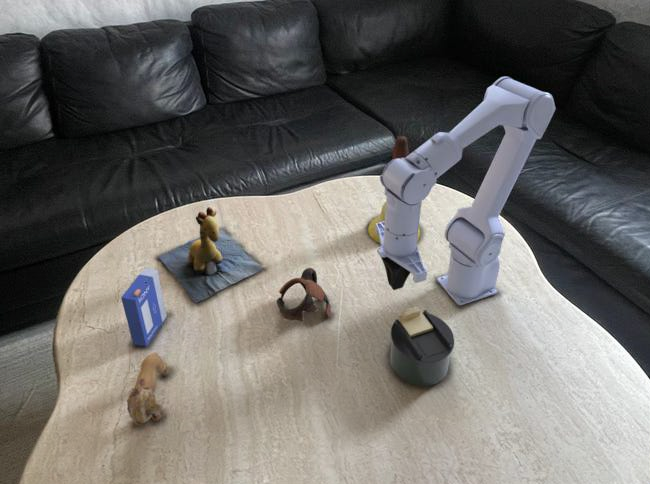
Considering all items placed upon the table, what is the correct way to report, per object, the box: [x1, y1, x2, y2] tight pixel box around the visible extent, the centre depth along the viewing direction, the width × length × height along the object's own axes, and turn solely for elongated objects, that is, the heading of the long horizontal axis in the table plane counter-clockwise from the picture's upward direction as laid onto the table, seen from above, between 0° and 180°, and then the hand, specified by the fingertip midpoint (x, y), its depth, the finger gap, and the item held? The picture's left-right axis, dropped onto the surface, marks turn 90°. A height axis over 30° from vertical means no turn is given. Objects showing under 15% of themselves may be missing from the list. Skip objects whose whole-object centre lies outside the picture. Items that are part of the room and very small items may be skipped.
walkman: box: [120, 267, 168, 348], centre depth 94 cm, size 8×3×12 cm, turn 166°
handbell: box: [367, 135, 421, 245], centre depth 116 cm, size 12×12×25 cm
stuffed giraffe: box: [157, 206, 264, 304], centre depth 109 cm, size 16×18×16 cm
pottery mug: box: [276, 267, 332, 323], centre depth 100 cm, size 12×10×8 cm
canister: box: [389, 309, 455, 387], centre depth 88 cm, size 11×11×8 cm
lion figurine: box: [126, 352, 170, 427], centre depth 81 cm, size 15×5×9 cm, turn 13°
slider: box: [396, 306, 433, 337], centre depth 89 cm, size 4×5×2 cm
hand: (395, 285), depth 93 cm, fingers closed
